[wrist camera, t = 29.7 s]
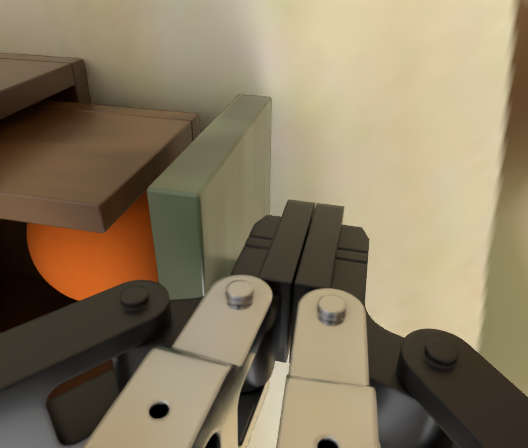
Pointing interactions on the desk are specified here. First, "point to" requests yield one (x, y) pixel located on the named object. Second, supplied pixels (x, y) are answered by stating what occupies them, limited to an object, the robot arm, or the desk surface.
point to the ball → (95, 253)
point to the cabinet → (40, 81)
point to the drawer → (130, 192)
